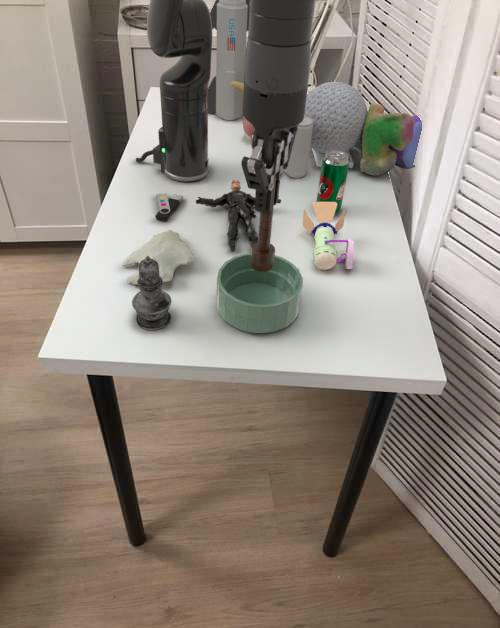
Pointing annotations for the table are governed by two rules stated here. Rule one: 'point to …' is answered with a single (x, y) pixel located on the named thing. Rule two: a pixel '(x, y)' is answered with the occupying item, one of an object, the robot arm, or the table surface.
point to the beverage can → (300, 149)
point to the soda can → (333, 177)
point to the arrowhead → (162, 255)
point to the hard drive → (319, 156)
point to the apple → (248, 128)
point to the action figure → (236, 212)
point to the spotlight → (327, 236)
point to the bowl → (258, 294)
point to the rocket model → (228, 57)
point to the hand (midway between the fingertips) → (266, 206)
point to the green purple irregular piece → (408, 147)
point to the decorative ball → (335, 116)
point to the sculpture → (383, 139)
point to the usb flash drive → (167, 205)
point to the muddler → (264, 242)
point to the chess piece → (151, 297)
